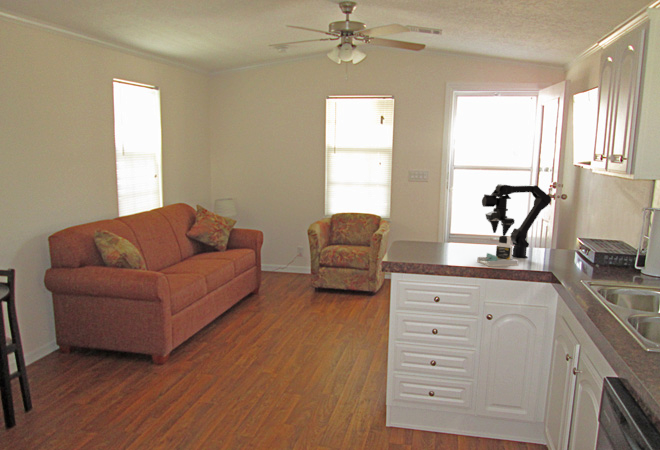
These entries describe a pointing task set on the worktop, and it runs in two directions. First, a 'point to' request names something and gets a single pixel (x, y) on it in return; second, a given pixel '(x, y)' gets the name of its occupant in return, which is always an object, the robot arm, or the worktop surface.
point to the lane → (498, 262)
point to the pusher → (489, 257)
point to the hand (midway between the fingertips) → (499, 234)
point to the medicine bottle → (504, 248)
